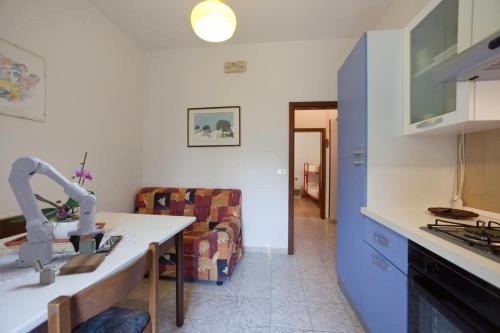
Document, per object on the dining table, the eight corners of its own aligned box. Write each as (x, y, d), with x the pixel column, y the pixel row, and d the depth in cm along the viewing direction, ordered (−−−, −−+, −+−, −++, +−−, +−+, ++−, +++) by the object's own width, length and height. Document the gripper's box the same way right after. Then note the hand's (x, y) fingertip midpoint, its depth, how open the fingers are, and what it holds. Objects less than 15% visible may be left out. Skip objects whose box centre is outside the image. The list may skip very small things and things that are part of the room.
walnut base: (59, 276, 77) (59, 268, 77) (74, 262, 87) (75, 255, 87) (94, 272, 80) (94, 264, 80) (105, 259, 91) (105, 252, 91)
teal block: (79, 256, 92) (79, 243, 92) (83, 252, 96) (84, 239, 96) (91, 255, 94) (91, 242, 93) (95, 251, 98) (95, 239, 98)
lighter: (55, 281, 72) (55, 258, 72) (50, 284, 71) (50, 261, 71) (36, 280, 73) (36, 258, 73) (30, 283, 71) (31, 260, 71)
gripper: (63, 224, 89) (63, 256, 89) (102, 222, 93) (102, 252, 93) (72, 220, 96) (71, 249, 96) (108, 218, 100) (108, 246, 100)
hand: (87, 250), depth 95 cm, fingers open, 7 cm apart
